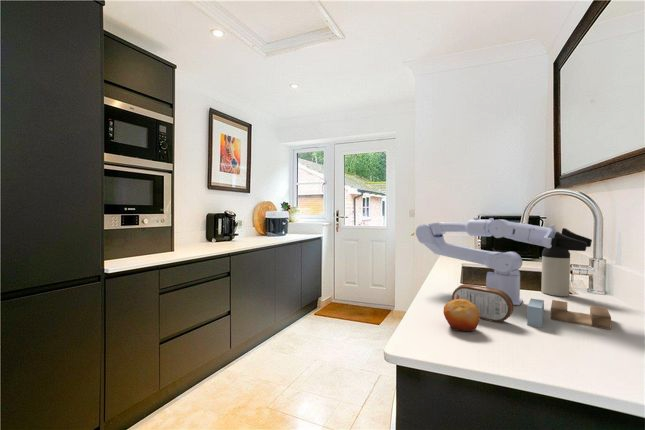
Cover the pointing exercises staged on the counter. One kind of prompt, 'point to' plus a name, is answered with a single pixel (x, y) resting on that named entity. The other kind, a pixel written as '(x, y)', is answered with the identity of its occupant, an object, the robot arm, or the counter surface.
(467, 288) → the tin
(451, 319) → the fruit
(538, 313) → the pale blue tapered bar
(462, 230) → the robot arm
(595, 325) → the slot block
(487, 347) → the counter surface
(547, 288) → the travel mug
